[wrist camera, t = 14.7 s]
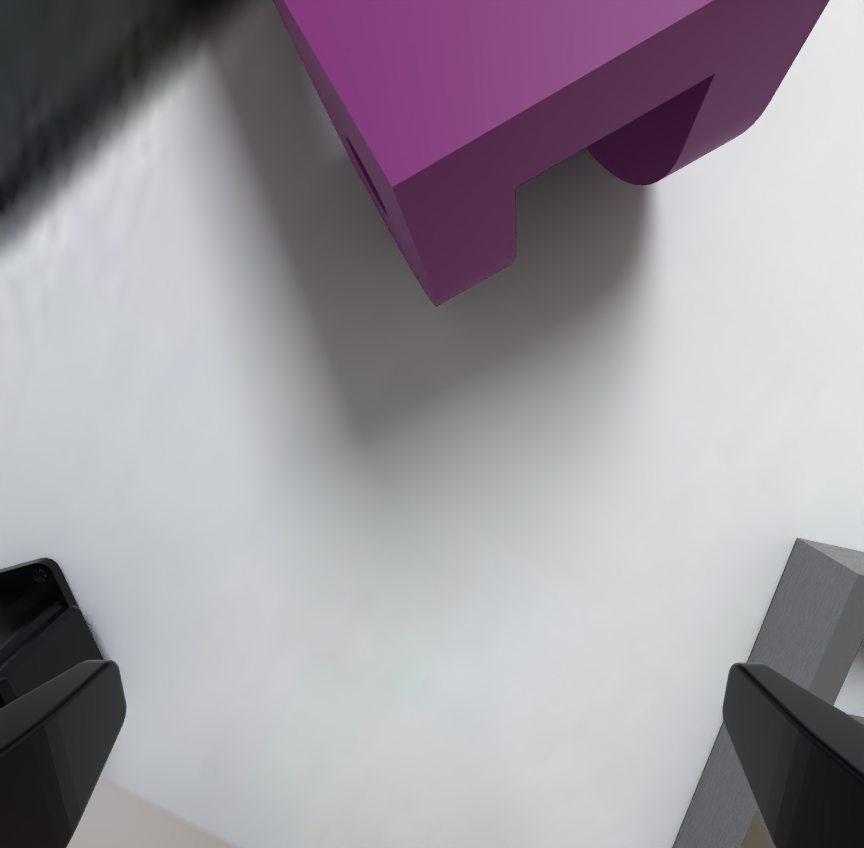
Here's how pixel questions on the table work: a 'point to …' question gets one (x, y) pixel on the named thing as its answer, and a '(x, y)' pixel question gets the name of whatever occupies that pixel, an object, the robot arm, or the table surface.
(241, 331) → the table surface
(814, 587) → the socket block
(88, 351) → the table surface
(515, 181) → the mounting bracket
